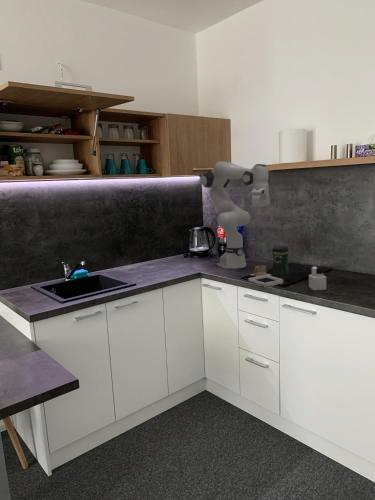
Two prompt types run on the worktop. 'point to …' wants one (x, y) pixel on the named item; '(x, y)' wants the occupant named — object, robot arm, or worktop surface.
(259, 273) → the collar
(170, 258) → the worktop surface
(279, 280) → the tray
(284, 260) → the coffee jar
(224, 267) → the robot arm
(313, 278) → the medicine bottle
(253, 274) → the stake
